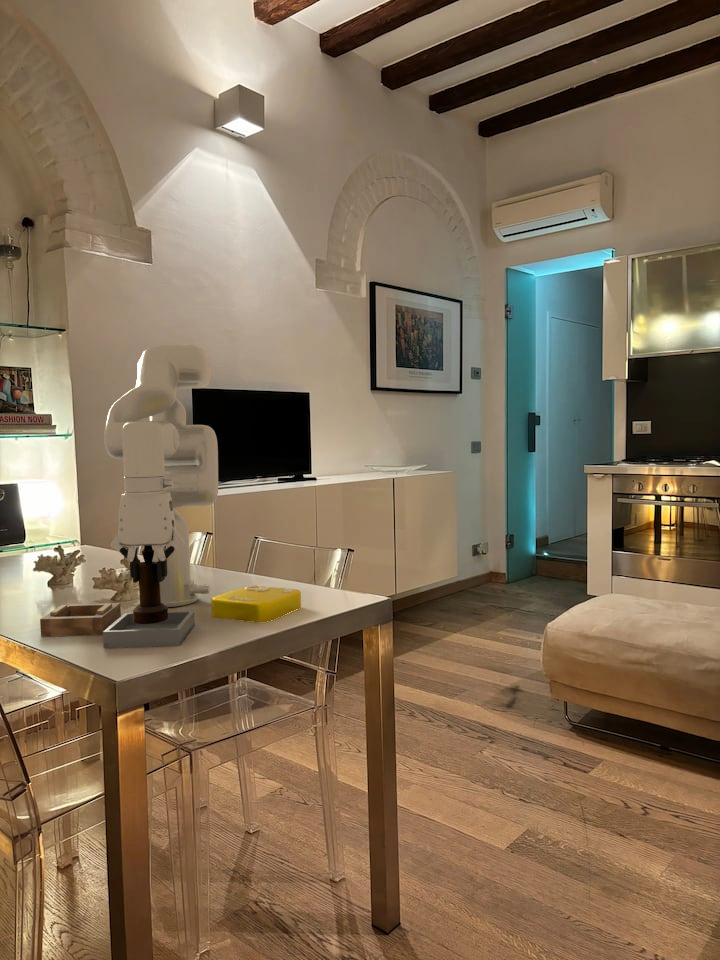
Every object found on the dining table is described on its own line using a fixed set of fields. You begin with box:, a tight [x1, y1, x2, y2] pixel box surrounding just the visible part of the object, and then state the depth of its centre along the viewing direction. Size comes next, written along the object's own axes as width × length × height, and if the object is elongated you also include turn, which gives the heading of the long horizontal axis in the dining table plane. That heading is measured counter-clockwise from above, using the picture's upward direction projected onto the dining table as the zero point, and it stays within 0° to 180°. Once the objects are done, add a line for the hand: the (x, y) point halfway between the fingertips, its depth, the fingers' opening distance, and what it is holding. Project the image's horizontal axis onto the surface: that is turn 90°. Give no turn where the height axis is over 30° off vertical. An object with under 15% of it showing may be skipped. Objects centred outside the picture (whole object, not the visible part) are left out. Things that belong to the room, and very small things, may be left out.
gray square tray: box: [102, 610, 196, 649], centre depth 141 cm, size 14×14×3 cm
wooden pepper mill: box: [132, 545, 169, 624], centre depth 141 cm, size 7×6×18 cm
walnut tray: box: [39, 602, 122, 638], centre depth 149 cm, size 12×12×4 cm
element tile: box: [210, 584, 302, 623], centre depth 159 cm, size 15×15×5 cm
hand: (149, 579), depth 141 cm, fingers closed on wooden pepper mill, 4 cm apart
